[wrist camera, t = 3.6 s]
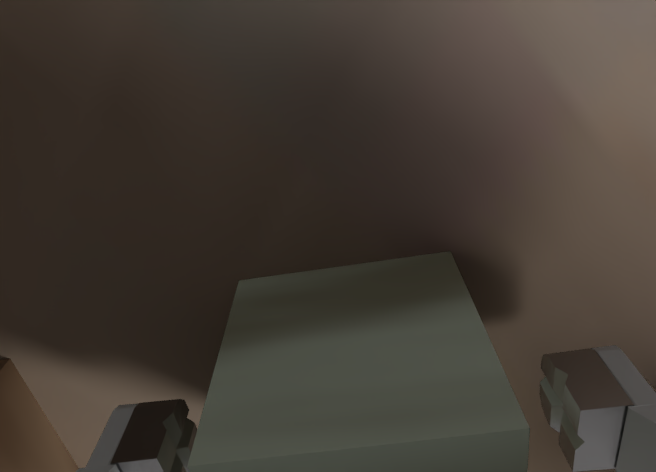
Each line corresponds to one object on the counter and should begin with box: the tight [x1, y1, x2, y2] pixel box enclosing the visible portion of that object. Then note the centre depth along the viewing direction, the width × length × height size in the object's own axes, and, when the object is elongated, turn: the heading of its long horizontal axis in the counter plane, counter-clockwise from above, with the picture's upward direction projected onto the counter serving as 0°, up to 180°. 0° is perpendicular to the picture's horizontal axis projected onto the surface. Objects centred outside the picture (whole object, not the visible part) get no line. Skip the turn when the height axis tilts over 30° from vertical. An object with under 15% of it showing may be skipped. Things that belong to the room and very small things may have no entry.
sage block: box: [187, 251, 530, 472], centre depth 10 cm, size 5×5×5 cm
